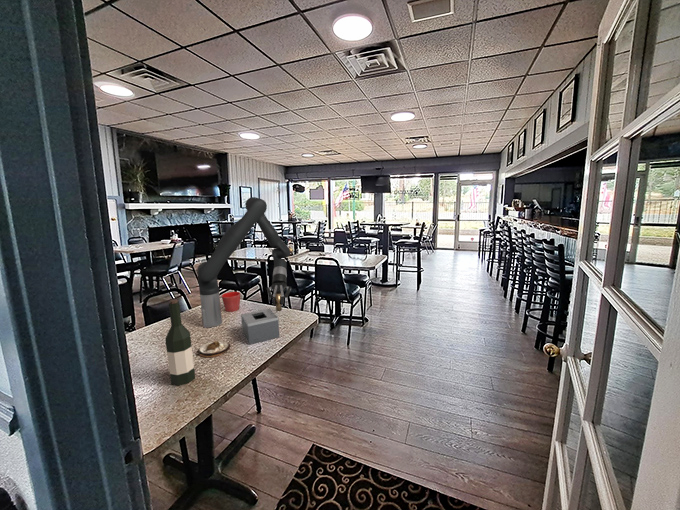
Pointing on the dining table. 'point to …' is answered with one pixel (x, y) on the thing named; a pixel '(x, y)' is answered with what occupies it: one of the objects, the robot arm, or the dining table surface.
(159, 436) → the dining table surface
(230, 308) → the flower pot
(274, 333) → the box
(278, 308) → the brown glossy cylinder
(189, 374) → the wine bottle
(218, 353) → the plate of food
